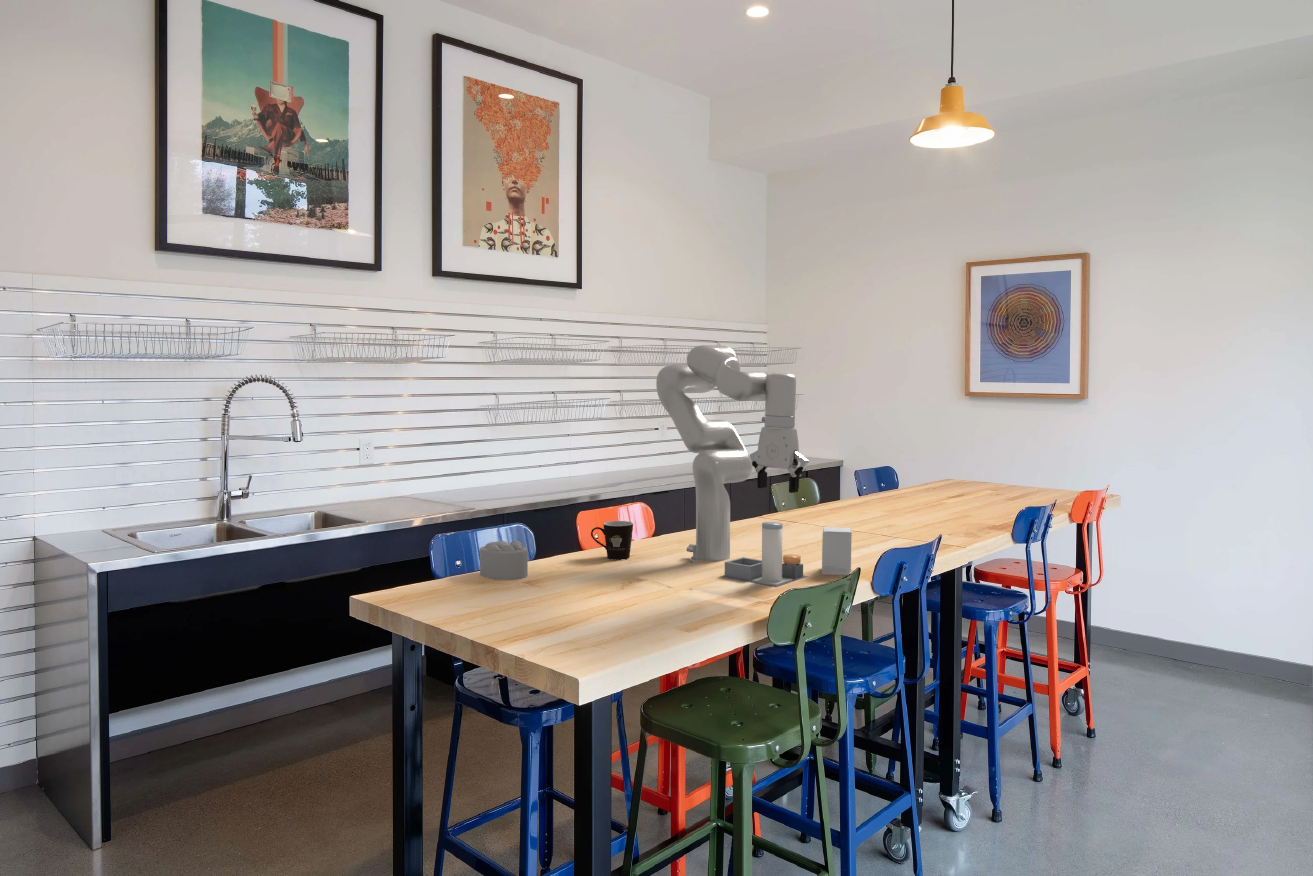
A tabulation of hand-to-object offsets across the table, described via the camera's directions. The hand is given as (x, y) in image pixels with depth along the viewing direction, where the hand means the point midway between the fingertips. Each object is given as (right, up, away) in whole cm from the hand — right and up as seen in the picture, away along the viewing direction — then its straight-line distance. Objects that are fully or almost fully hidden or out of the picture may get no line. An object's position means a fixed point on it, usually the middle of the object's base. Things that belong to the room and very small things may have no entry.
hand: (777, 489), depth 218 cm
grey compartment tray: (-3, -24, 0) cm, 24 cm away
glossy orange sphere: (+4, -21, +1) cm, 22 cm away
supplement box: (+16, -23, +6) cm, 29 cm away
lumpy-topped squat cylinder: (-70, -23, +9) cm, 75 cm away
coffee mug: (-43, -22, +31) cm, 57 cm away
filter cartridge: (-2, -22, -5) cm, 23 cm away
